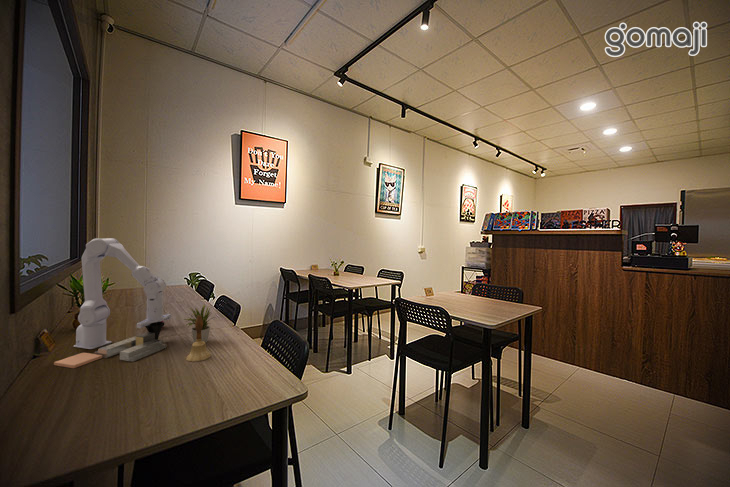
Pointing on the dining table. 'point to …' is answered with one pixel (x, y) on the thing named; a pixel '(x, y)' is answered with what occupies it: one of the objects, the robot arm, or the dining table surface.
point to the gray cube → (144, 337)
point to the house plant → (205, 328)
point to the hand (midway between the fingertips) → (154, 340)
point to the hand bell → (198, 344)
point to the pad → (77, 360)
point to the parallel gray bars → (131, 349)
